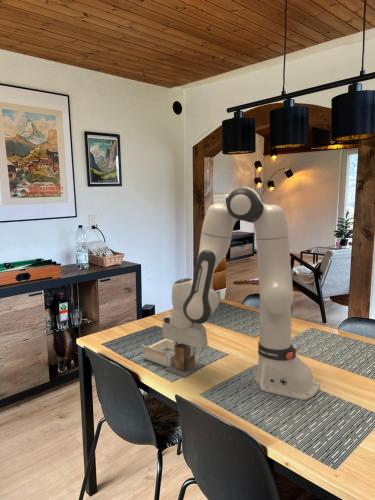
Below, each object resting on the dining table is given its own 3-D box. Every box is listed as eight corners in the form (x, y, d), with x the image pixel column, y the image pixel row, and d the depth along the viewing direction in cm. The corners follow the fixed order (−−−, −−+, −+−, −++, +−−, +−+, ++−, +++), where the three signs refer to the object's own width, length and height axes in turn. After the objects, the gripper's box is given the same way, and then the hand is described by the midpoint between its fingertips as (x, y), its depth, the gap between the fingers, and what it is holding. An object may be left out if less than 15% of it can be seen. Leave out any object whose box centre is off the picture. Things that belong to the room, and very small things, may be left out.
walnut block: (195, 364, 147) (194, 342, 146) (184, 371, 142) (183, 348, 141) (186, 361, 150) (185, 340, 149) (174, 368, 145) (174, 346, 143)
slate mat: (204, 365, 148) (204, 364, 148) (185, 377, 139) (185, 376, 139) (184, 359, 154) (184, 358, 154) (165, 370, 145) (165, 369, 145)
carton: (194, 353, 160) (194, 337, 159) (165, 369, 145) (165, 352, 144) (169, 345, 169) (169, 330, 168) (140, 360, 154) (139, 343, 153)
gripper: (210, 322, 139) (211, 357, 141) (169, 313, 152) (170, 345, 154) (200, 327, 134) (201, 363, 137) (159, 317, 147) (160, 350, 149)
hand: (184, 353), depth 145 cm, fingers open, 5 cm apart
